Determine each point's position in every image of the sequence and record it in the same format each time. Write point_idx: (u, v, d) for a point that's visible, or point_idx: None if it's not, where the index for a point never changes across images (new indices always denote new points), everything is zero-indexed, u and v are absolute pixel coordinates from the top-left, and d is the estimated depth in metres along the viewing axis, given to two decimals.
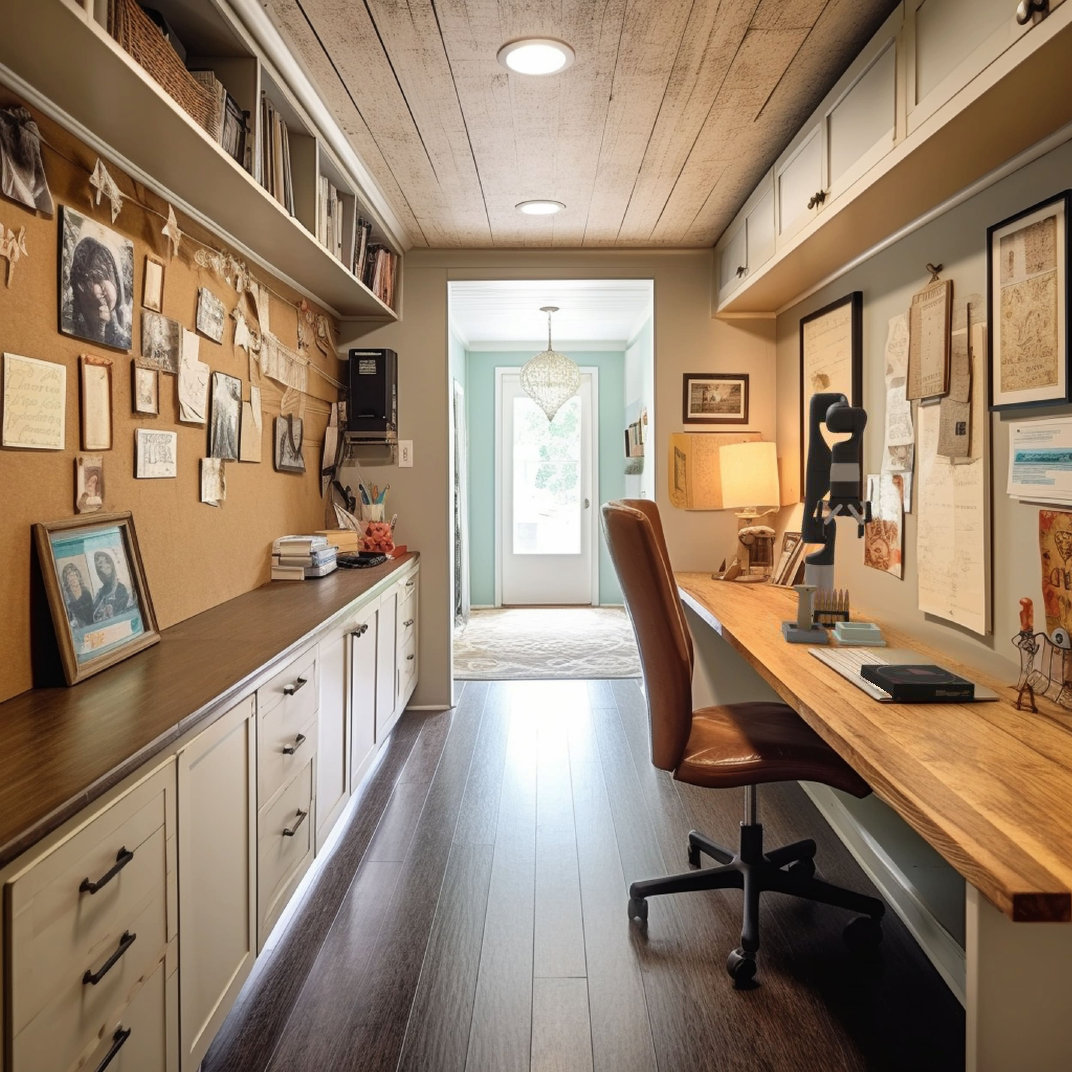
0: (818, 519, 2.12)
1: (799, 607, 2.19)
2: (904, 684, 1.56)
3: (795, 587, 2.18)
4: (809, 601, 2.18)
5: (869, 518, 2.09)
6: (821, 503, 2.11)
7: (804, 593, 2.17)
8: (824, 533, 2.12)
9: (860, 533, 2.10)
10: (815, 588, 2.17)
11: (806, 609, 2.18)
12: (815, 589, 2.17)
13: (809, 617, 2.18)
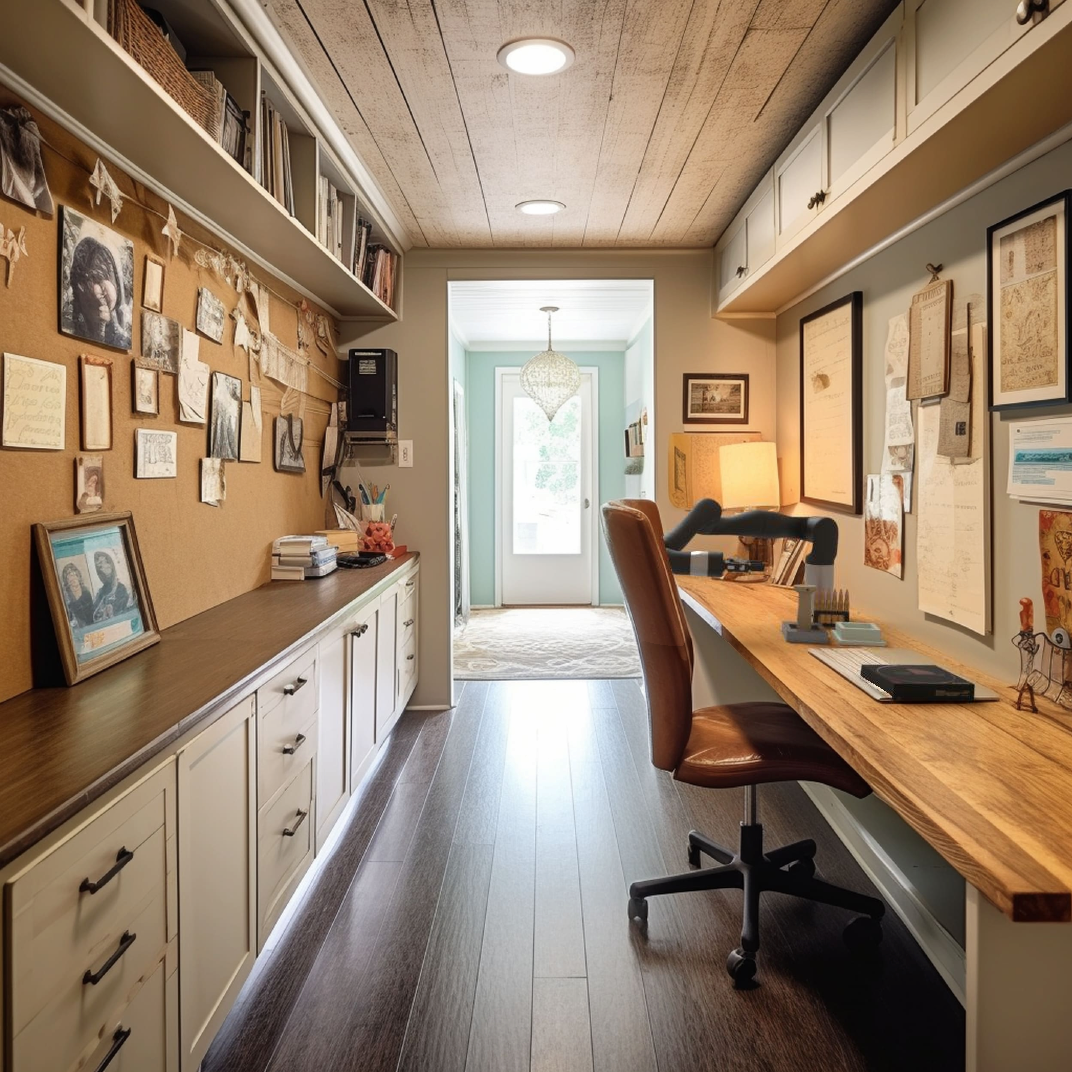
0: None
1: (799, 607, 2.19)
2: (904, 684, 1.56)
3: (795, 587, 2.18)
4: (809, 601, 2.18)
5: None
6: None
7: (804, 593, 2.17)
8: None
9: (759, 571, 2.17)
10: (815, 588, 2.17)
11: (806, 609, 2.18)
12: (815, 589, 2.17)
13: (809, 617, 2.18)
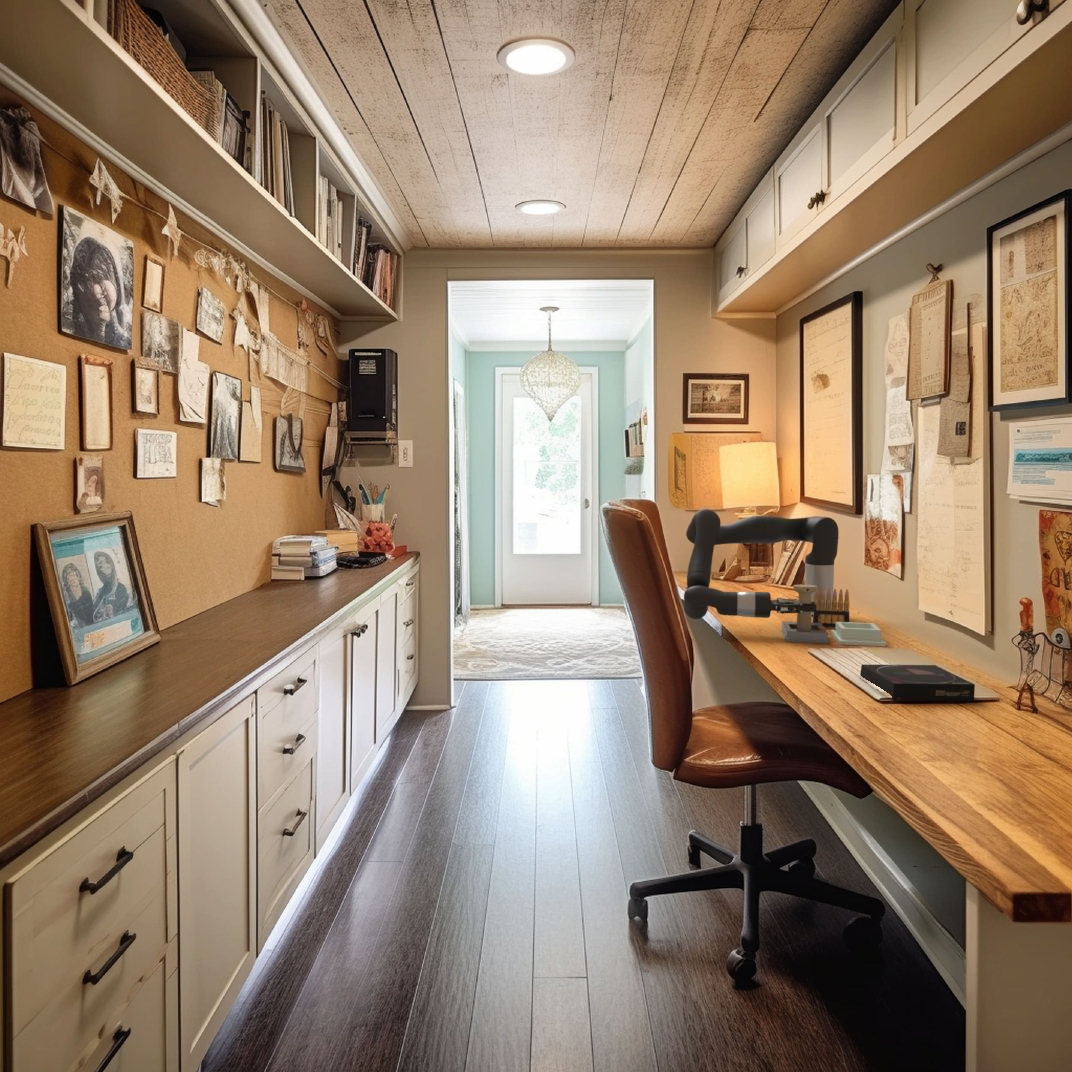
0: None
1: None
2: (904, 684, 1.56)
3: (795, 587, 2.18)
4: (809, 601, 2.18)
5: (796, 612, 2.16)
6: None
7: (804, 593, 2.17)
8: None
9: (810, 611, 2.17)
10: (815, 588, 2.17)
11: None
12: (815, 589, 2.17)
13: (809, 617, 2.18)
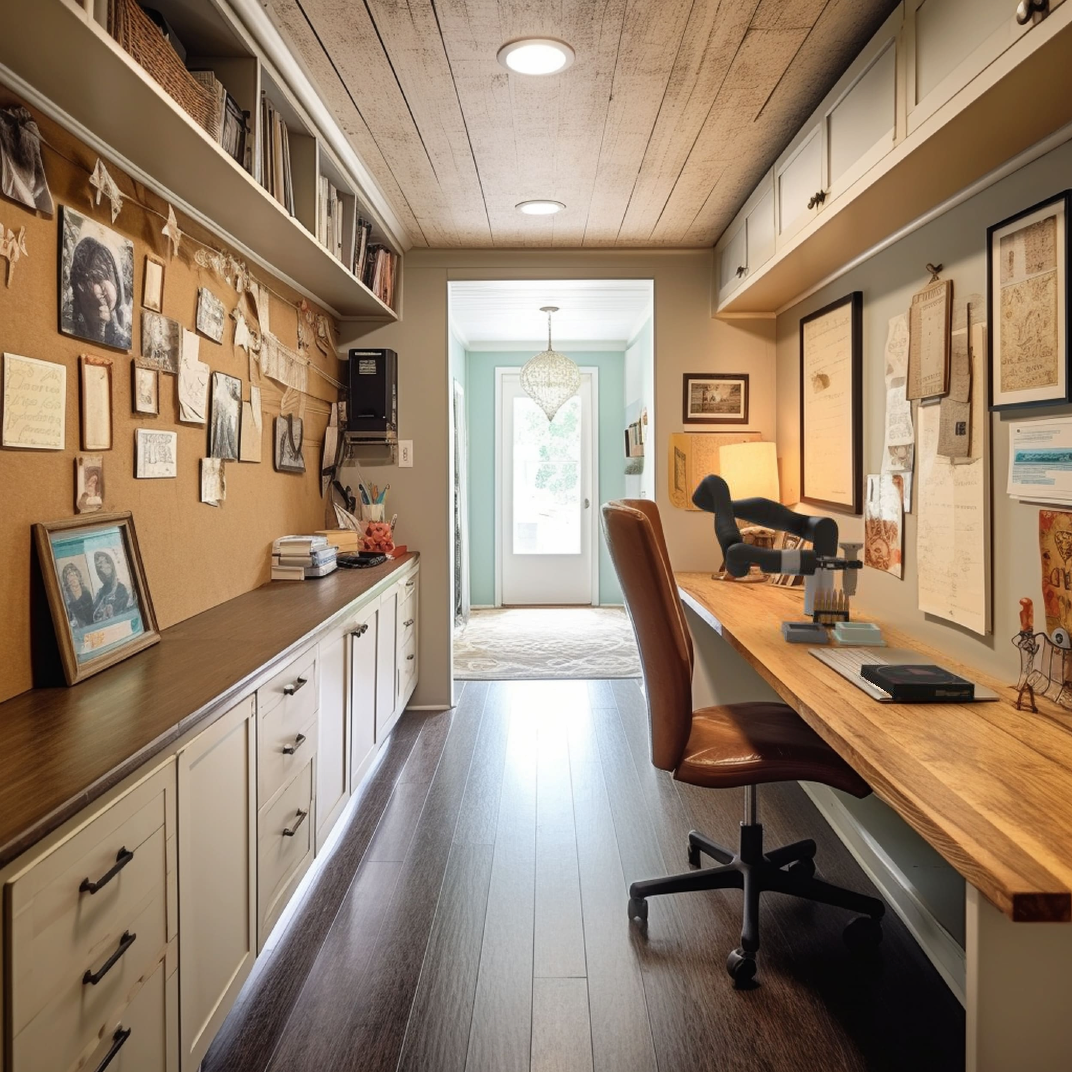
0: None
1: None
2: (904, 684, 1.56)
3: (841, 544, 2.15)
4: (855, 558, 2.14)
5: None
6: None
7: (850, 550, 2.14)
8: None
9: (857, 568, 2.14)
10: (861, 545, 2.14)
11: None
12: (861, 546, 2.14)
13: (855, 574, 2.14)
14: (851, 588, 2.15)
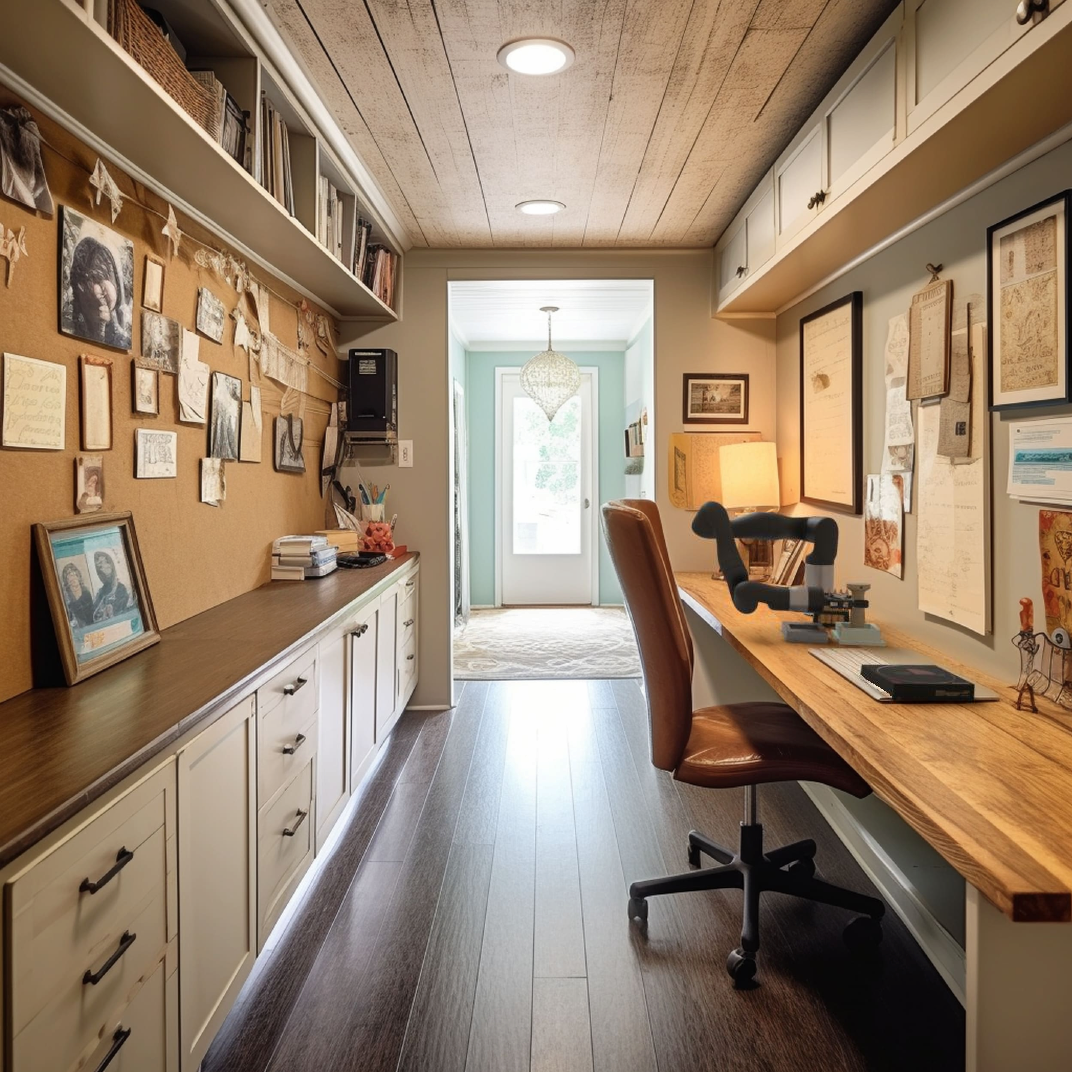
0: None
1: None
2: (904, 684, 1.56)
3: (848, 585, 2.15)
4: (862, 599, 2.15)
5: (848, 608, 2.11)
6: None
7: (857, 591, 2.14)
8: None
9: (862, 607, 2.12)
10: (869, 586, 2.14)
11: (860, 608, 2.14)
12: (869, 587, 2.14)
13: (863, 615, 2.15)
14: None
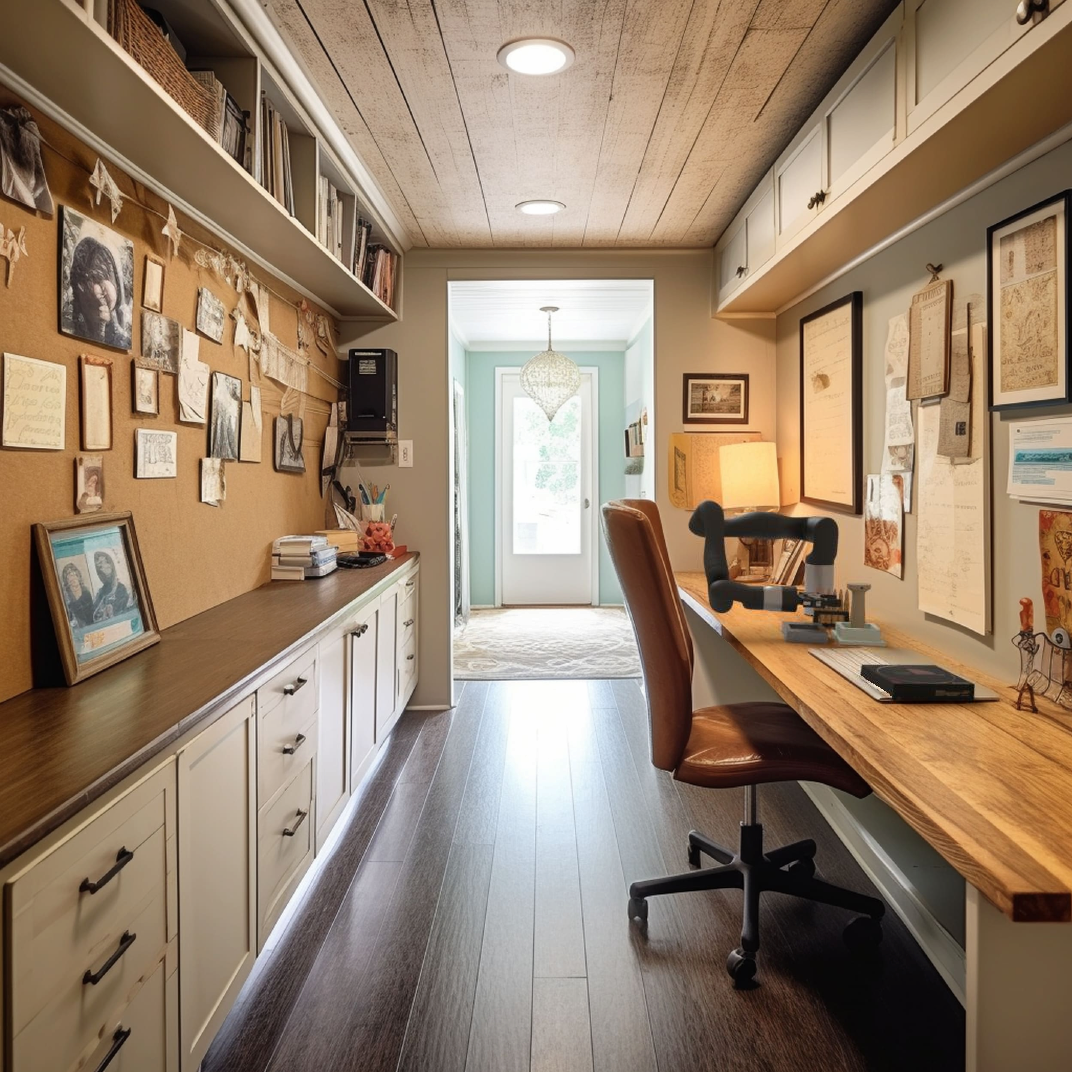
0: None
1: (852, 605, 2.16)
2: (904, 684, 1.56)
3: (849, 585, 2.15)
4: (863, 599, 2.14)
5: (821, 607, 2.12)
6: None
7: (858, 591, 2.14)
8: None
9: (835, 606, 2.13)
10: (869, 586, 2.14)
11: (860, 608, 2.14)
12: (869, 587, 2.14)
13: (863, 616, 2.15)
14: None
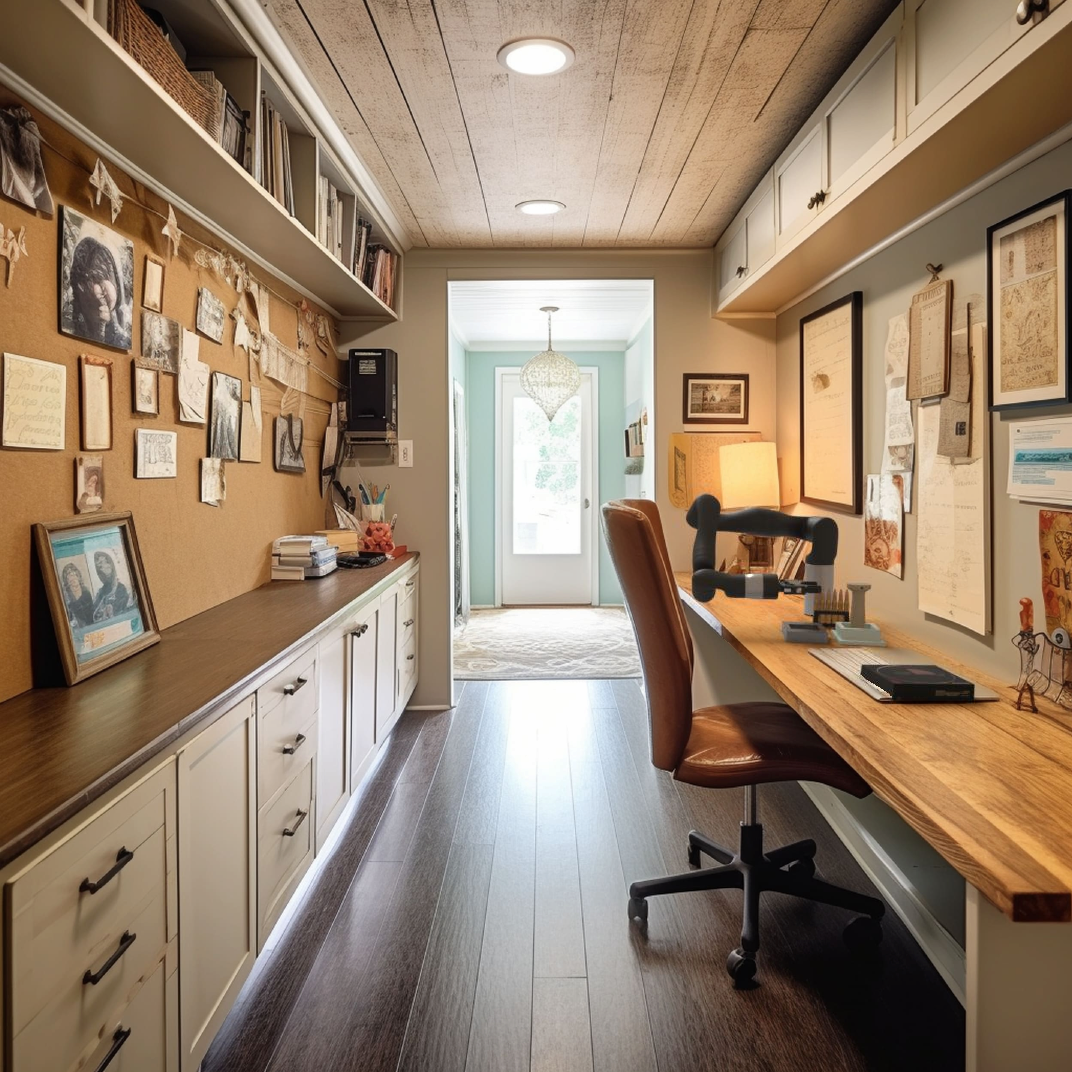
0: None
1: (853, 605, 2.15)
2: (904, 684, 1.56)
3: (849, 585, 2.15)
4: (863, 599, 2.14)
5: (801, 594, 2.15)
6: None
7: (858, 591, 2.14)
8: None
9: None
10: (869, 586, 2.14)
11: (860, 608, 2.14)
12: (869, 587, 2.14)
13: (863, 616, 2.15)
14: None
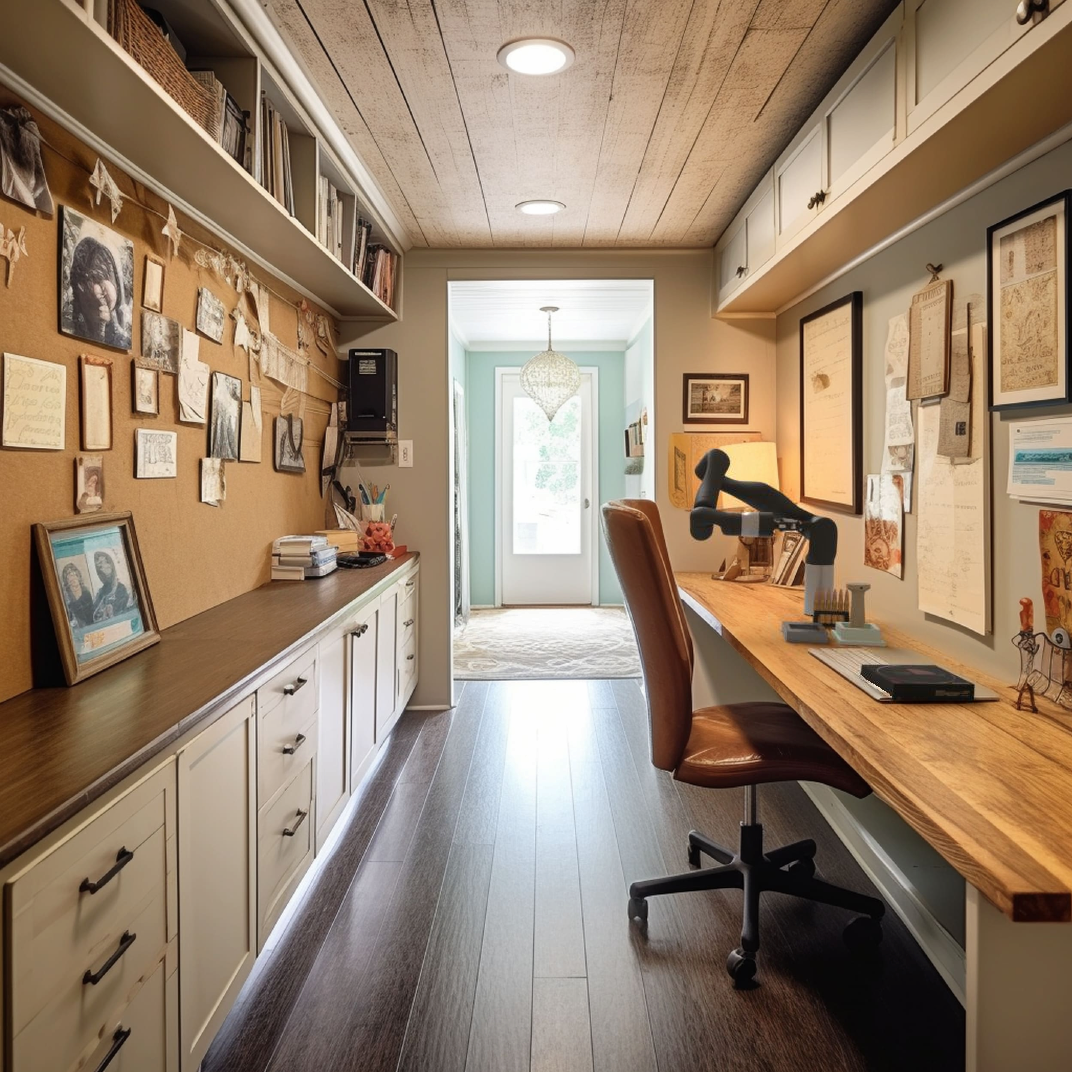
0: None
1: (852, 606, 2.15)
2: (904, 684, 1.56)
3: (848, 585, 2.15)
4: (862, 599, 2.14)
5: None
6: None
7: (857, 591, 2.14)
8: None
9: (810, 529, 2.22)
10: (869, 586, 2.14)
11: (860, 608, 2.14)
12: (869, 587, 2.14)
13: (863, 616, 2.15)
14: None
